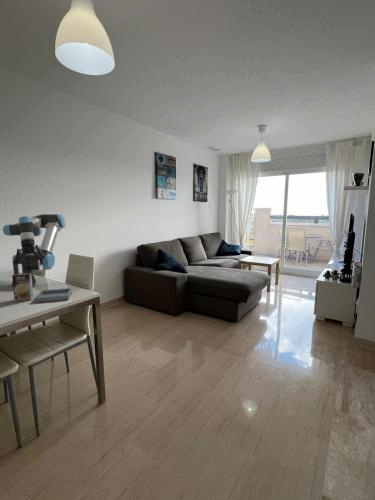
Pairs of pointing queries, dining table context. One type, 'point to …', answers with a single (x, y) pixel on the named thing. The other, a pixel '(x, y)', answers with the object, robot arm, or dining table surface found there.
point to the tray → (53, 295)
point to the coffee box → (22, 287)
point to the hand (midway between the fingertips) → (30, 272)
